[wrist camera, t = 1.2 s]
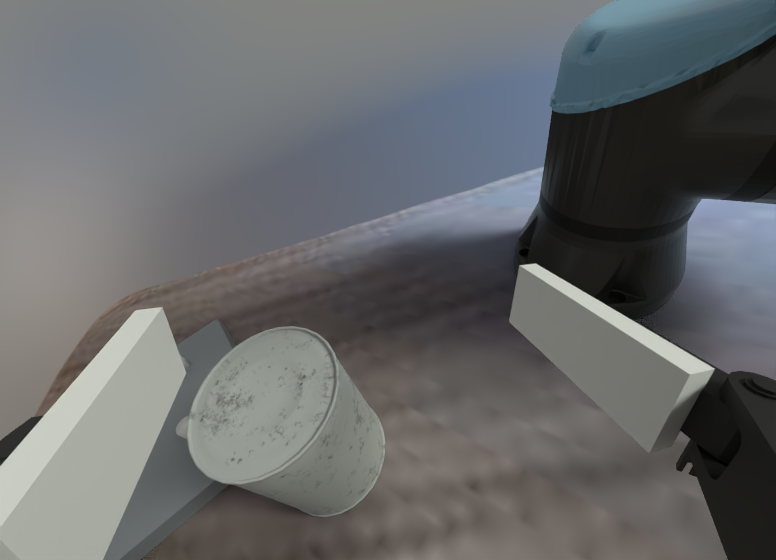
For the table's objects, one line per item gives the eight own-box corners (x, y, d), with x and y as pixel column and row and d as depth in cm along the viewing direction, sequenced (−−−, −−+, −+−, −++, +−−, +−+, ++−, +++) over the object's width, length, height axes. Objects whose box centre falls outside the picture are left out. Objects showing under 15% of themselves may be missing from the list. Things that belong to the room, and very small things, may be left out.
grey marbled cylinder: (317, 384, 33) (256, 313, 24) (402, 416, 29) (366, 345, 20) (259, 485, 28) (153, 442, 19) (353, 542, 24) (275, 521, 15)
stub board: (226, 327, 41) (201, 303, 38) (284, 438, 30) (256, 419, 26) (59, 440, 35) (10, 425, 32) (52, 634, 24) (-25, 644, 20)
